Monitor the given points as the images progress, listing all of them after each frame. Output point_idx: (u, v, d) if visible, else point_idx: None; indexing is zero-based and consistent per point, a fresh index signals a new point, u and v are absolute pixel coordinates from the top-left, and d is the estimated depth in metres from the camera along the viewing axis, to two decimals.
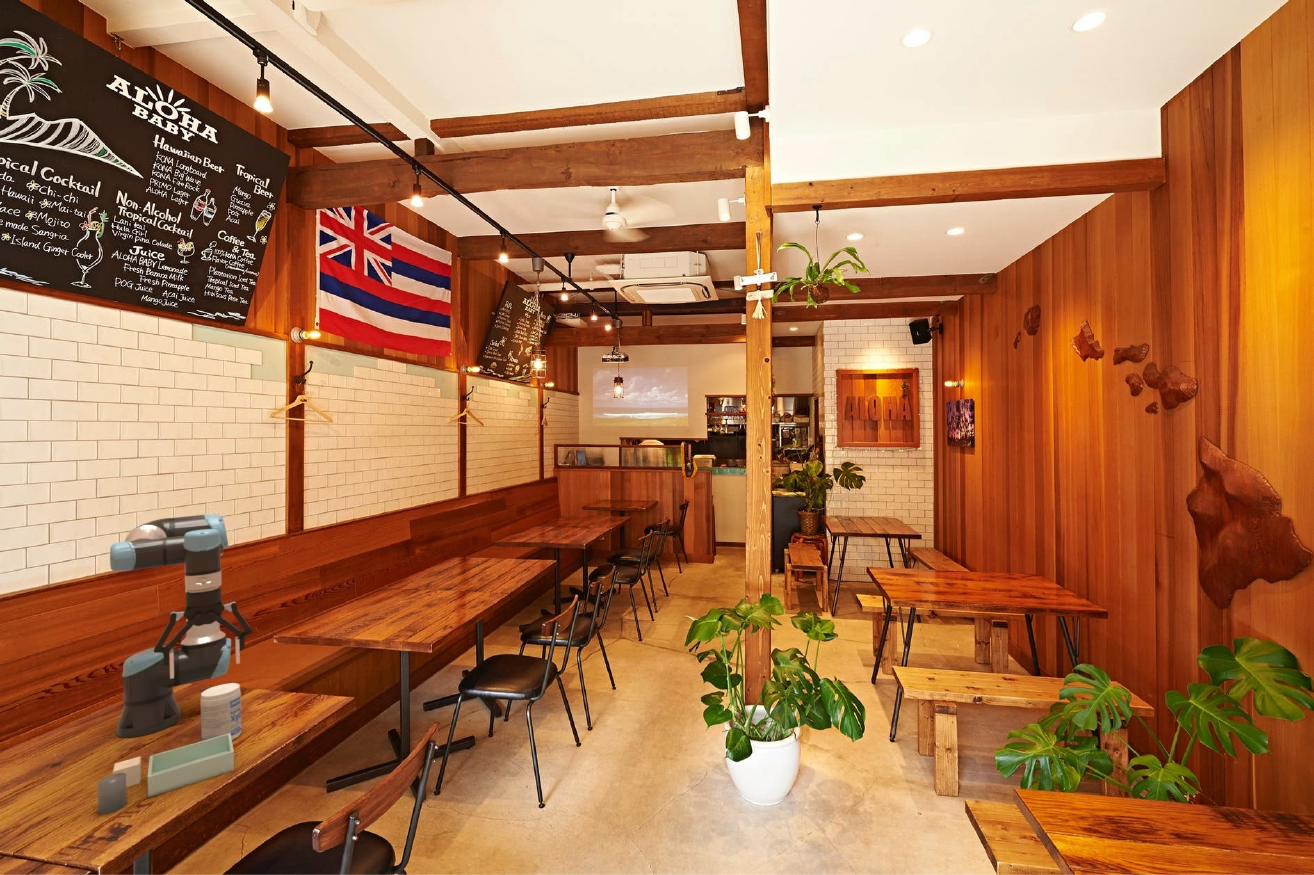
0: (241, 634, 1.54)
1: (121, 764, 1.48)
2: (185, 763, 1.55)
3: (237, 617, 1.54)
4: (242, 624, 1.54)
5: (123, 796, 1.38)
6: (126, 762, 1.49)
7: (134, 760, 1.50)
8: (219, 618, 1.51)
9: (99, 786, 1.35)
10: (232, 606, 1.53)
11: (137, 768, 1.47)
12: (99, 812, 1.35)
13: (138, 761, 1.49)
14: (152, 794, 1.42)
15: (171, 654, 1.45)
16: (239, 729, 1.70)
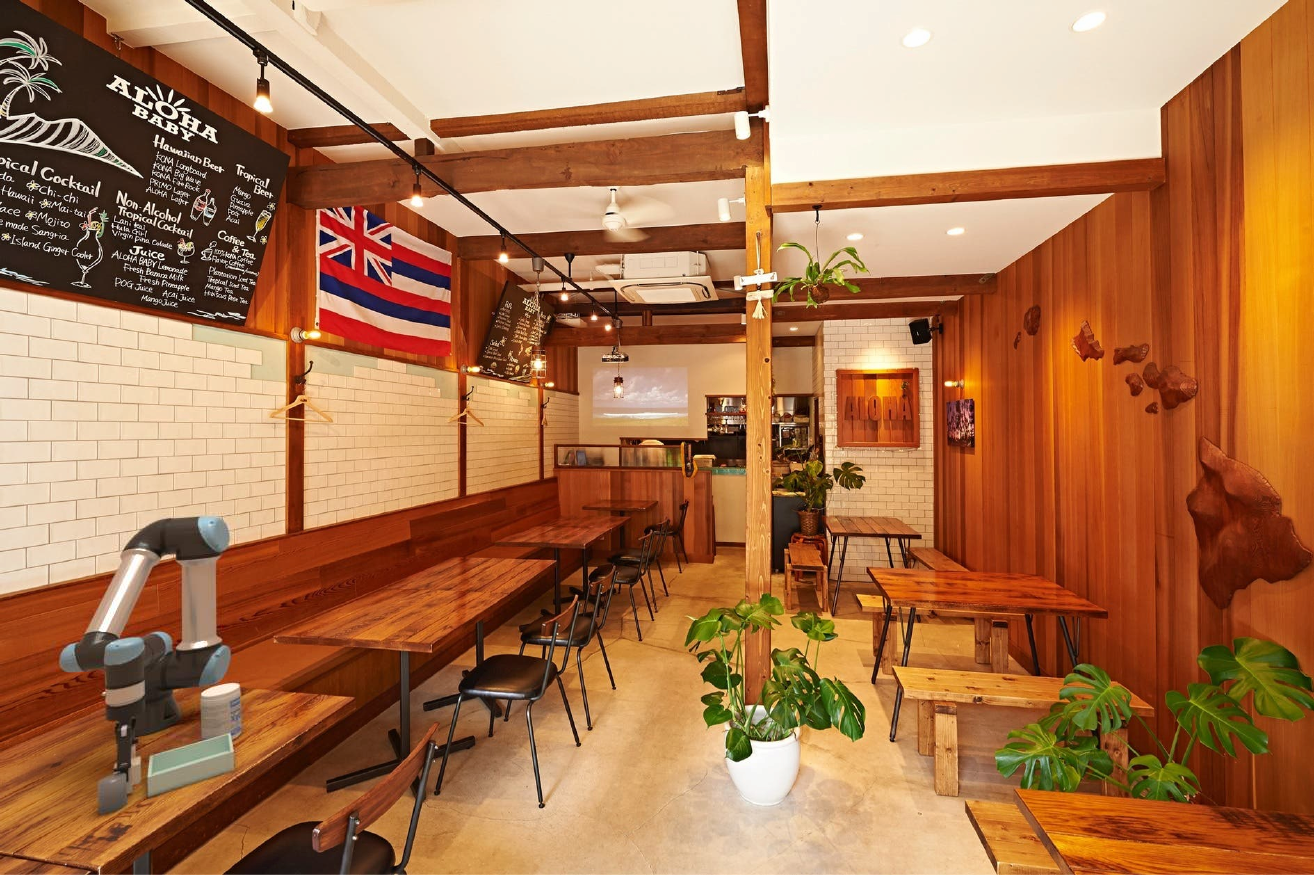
0: None
1: (121, 764, 1.48)
2: (185, 763, 1.55)
3: None
4: (117, 756, 1.41)
5: (123, 796, 1.38)
6: None
7: (134, 760, 1.50)
8: (116, 738, 1.45)
9: (99, 786, 1.35)
10: (117, 732, 1.43)
11: (137, 768, 1.47)
12: (99, 812, 1.35)
13: (138, 761, 1.49)
14: (152, 794, 1.42)
15: None
16: (239, 729, 1.70)
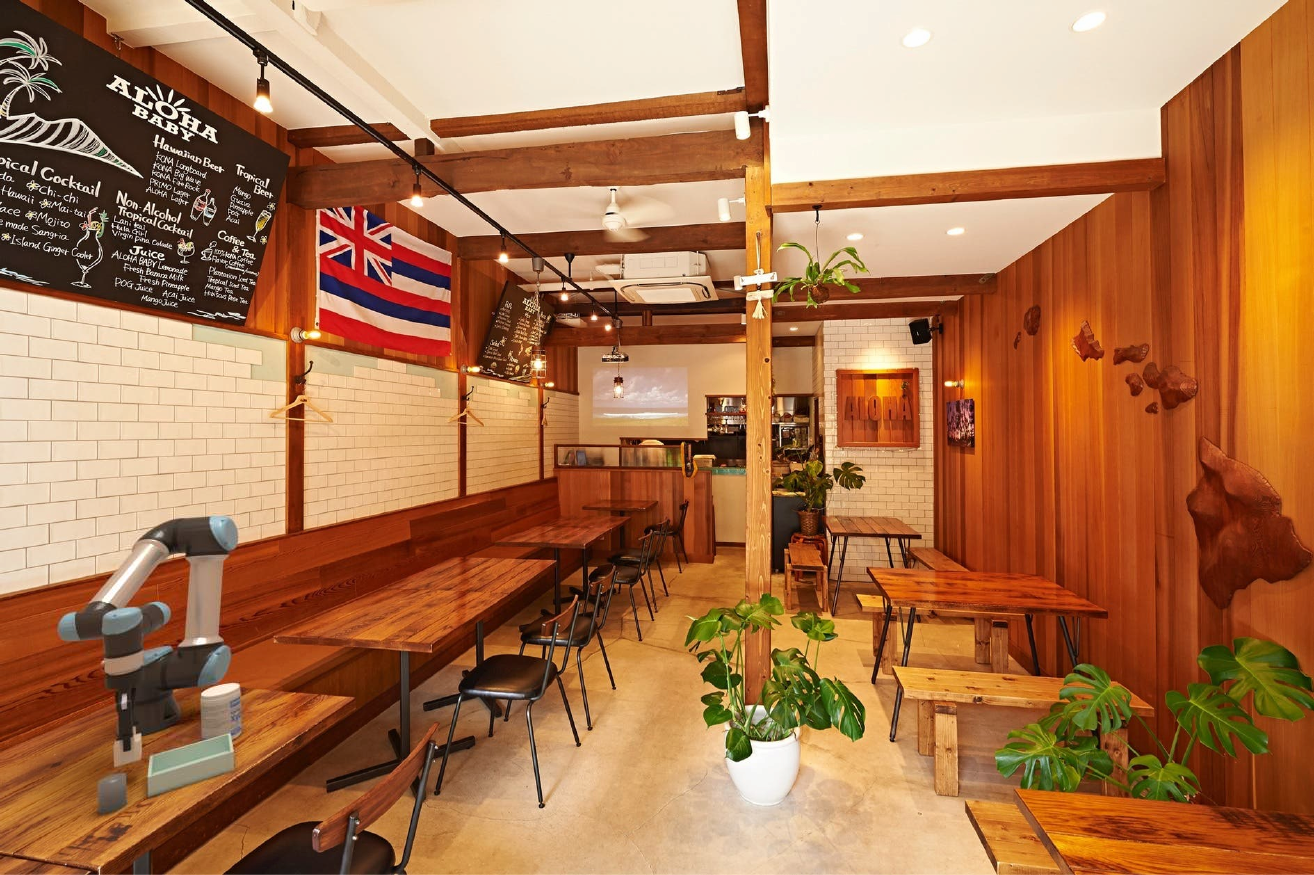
0: None
1: None
2: (185, 763, 1.55)
3: None
4: (119, 726, 1.44)
5: (123, 796, 1.38)
6: None
7: (134, 737, 1.50)
8: (116, 707, 1.46)
9: (99, 786, 1.35)
10: None
11: (137, 744, 1.48)
12: (99, 812, 1.35)
13: (138, 738, 1.50)
14: (152, 794, 1.42)
15: None
16: (239, 729, 1.70)
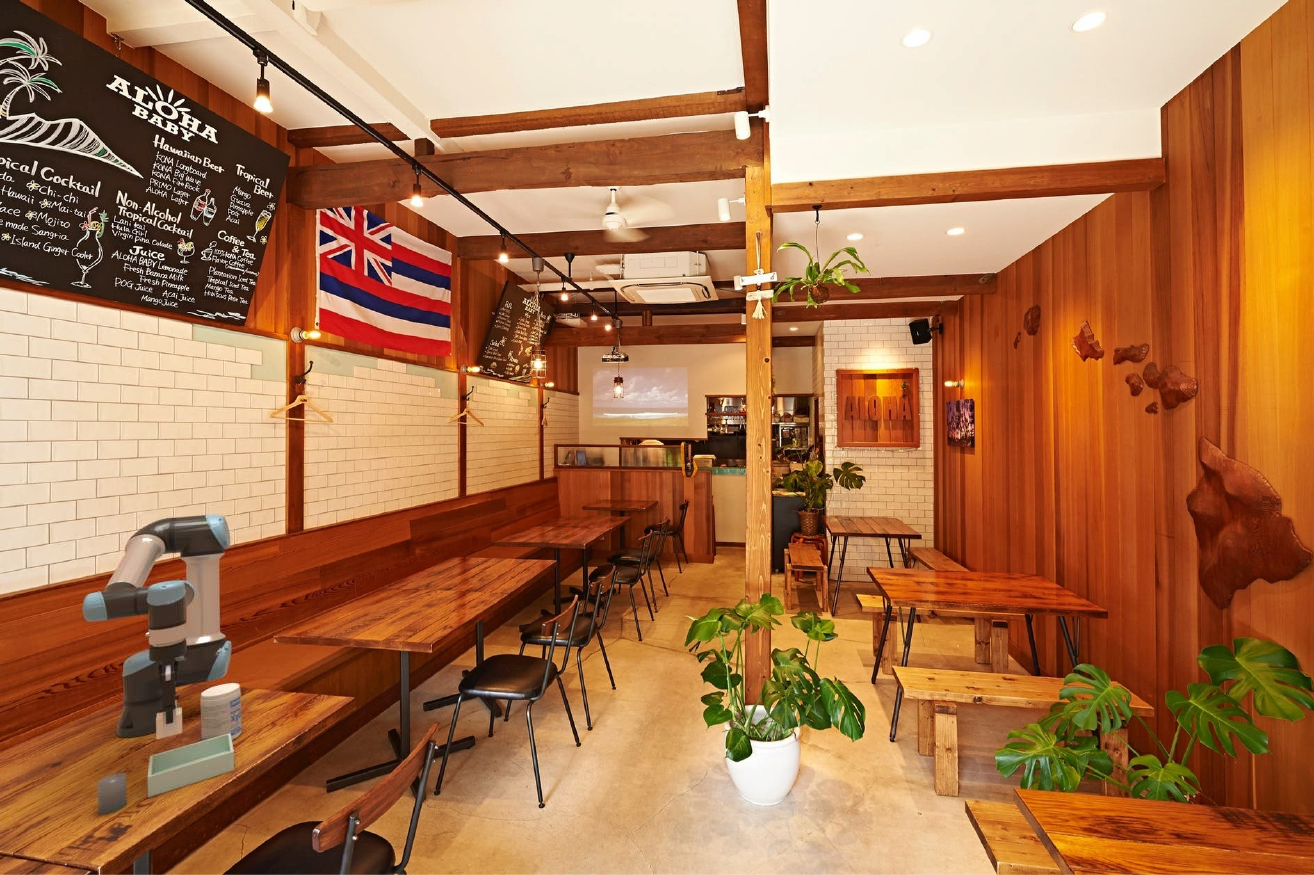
0: None
1: None
2: (185, 763, 1.55)
3: (162, 688, 1.44)
4: None
5: (123, 796, 1.38)
6: None
7: (176, 710, 1.51)
8: (159, 679, 1.47)
9: (99, 786, 1.35)
10: None
11: (179, 717, 1.48)
12: (99, 812, 1.35)
13: (180, 711, 1.50)
14: (152, 794, 1.42)
15: None
16: (239, 729, 1.70)
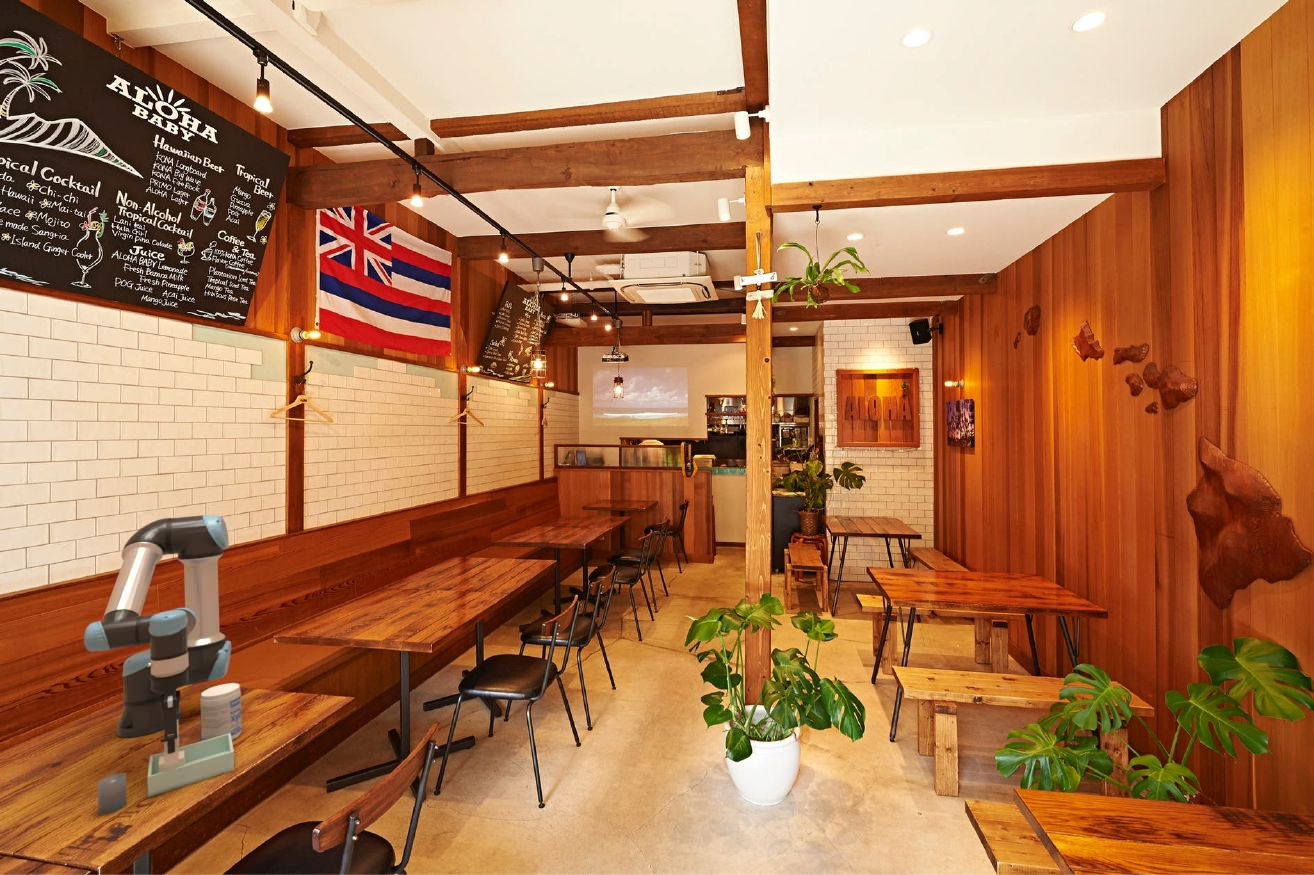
0: None
1: None
2: (185, 763, 1.55)
3: (164, 717, 1.43)
4: (164, 727, 1.43)
5: (123, 796, 1.38)
6: None
7: None
8: (161, 709, 1.46)
9: (99, 786, 1.35)
10: None
11: (181, 761, 1.48)
12: (99, 812, 1.35)
13: (182, 755, 1.50)
14: (152, 794, 1.42)
15: None
16: (239, 729, 1.70)
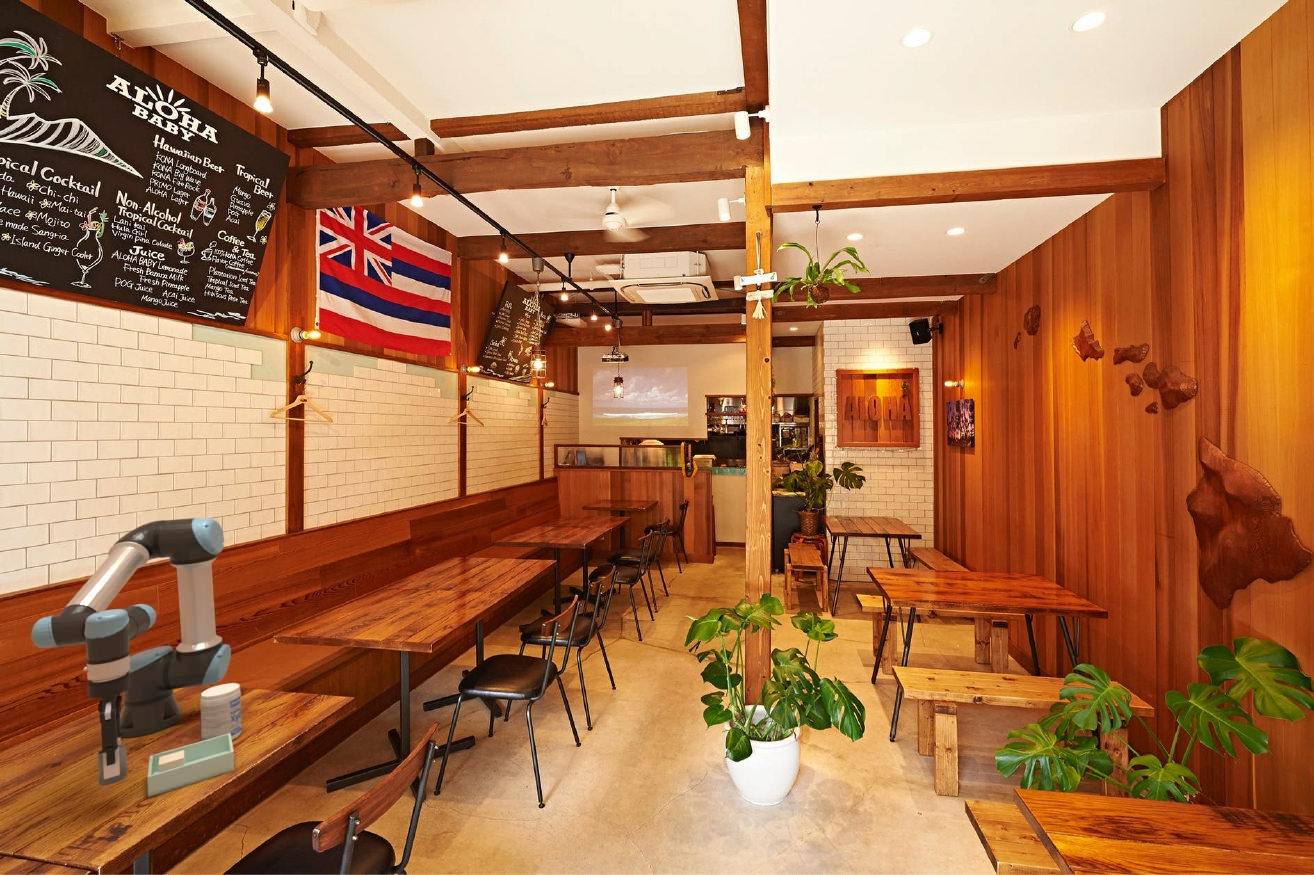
0: None
1: (165, 758, 1.49)
2: (185, 763, 1.55)
3: None
4: (102, 738, 1.33)
5: (123, 767, 1.38)
6: (170, 756, 1.50)
7: (178, 754, 1.51)
8: None
9: (99, 757, 1.36)
10: None
11: (181, 761, 1.48)
12: (99, 783, 1.36)
13: (182, 755, 1.50)
14: (152, 794, 1.42)
15: None
16: (239, 729, 1.70)
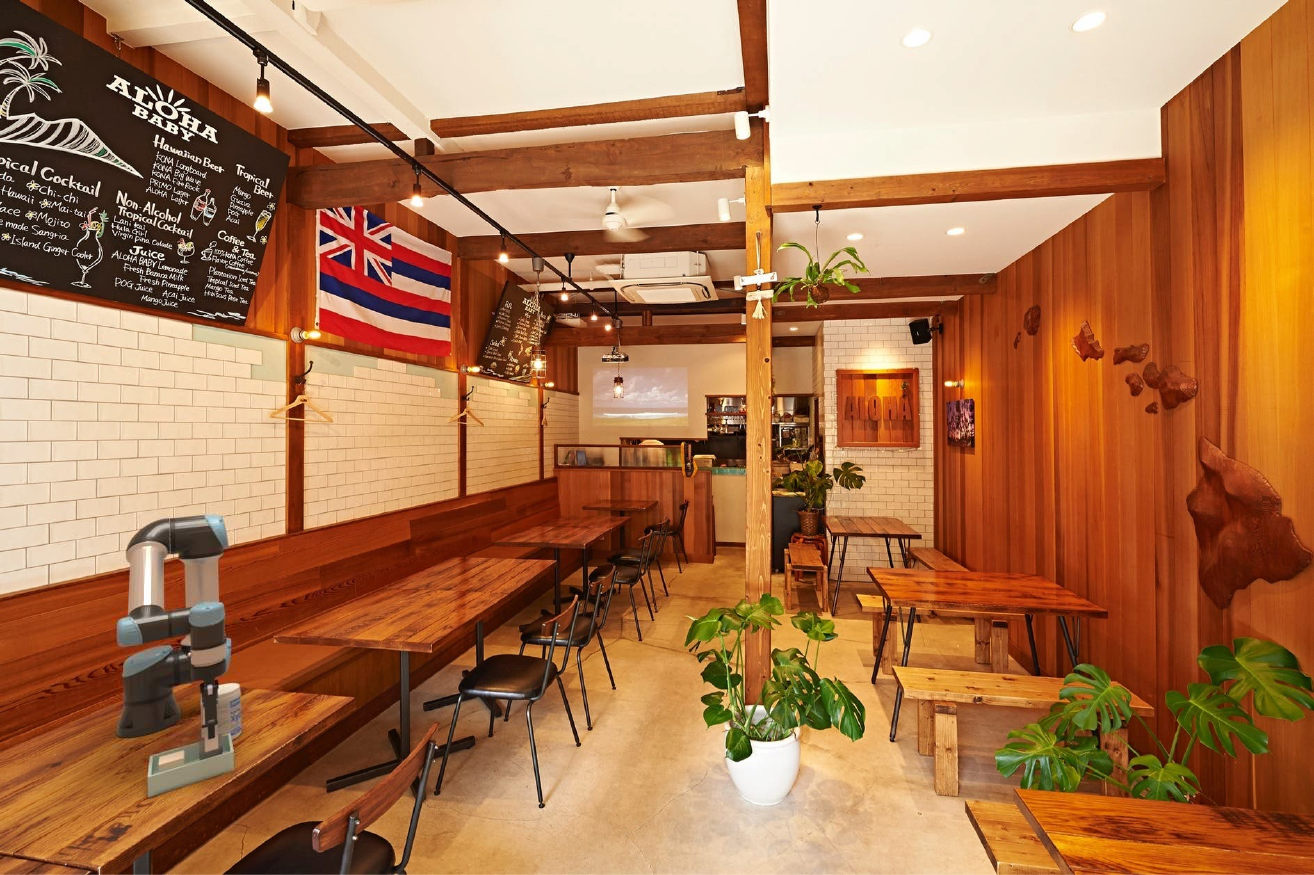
0: (205, 723, 1.48)
1: (165, 758, 1.49)
2: (185, 763, 1.55)
3: (204, 704, 1.48)
4: (204, 713, 1.48)
5: None
6: (170, 756, 1.50)
7: (178, 754, 1.51)
8: None
9: (201, 744, 1.52)
10: (204, 690, 1.49)
11: (181, 761, 1.48)
12: None
13: (182, 755, 1.50)
14: (152, 794, 1.42)
15: (203, 710, 1.59)
16: (239, 729, 1.70)
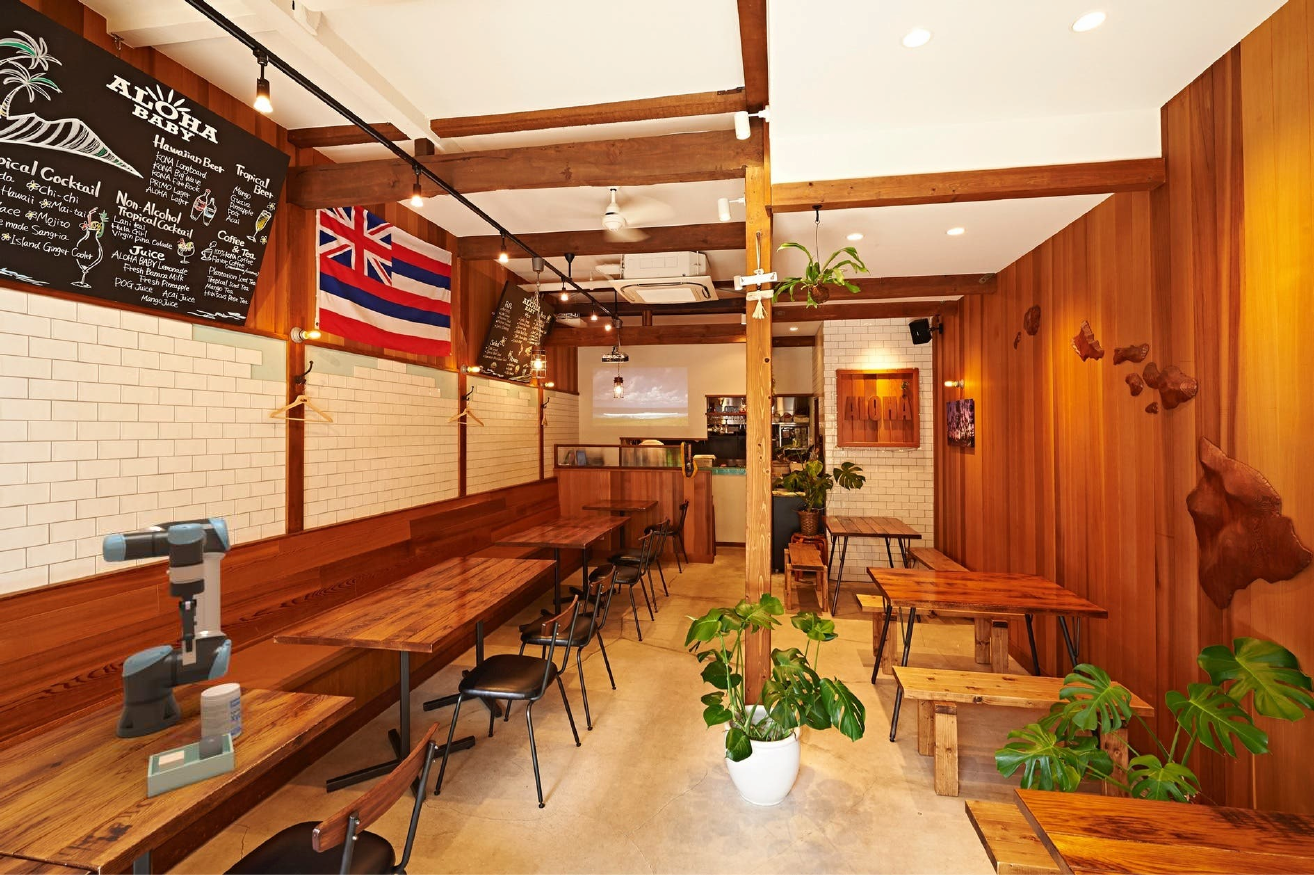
0: None
1: (165, 758, 1.49)
2: (185, 763, 1.55)
3: (182, 618, 1.52)
4: None
5: None
6: (170, 756, 1.50)
7: (178, 754, 1.51)
8: None
9: (201, 744, 1.52)
10: (182, 605, 1.53)
11: (181, 761, 1.48)
12: None
13: (182, 755, 1.50)
14: (152, 794, 1.42)
15: (182, 630, 1.62)
16: (239, 729, 1.70)
